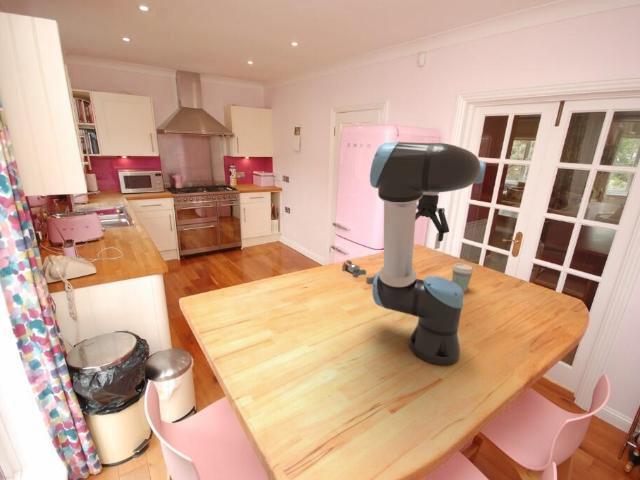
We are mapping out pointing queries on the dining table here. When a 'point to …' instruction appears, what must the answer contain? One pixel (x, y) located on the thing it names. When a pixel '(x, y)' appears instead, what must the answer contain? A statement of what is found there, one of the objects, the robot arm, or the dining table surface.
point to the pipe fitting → (356, 271)
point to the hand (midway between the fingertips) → (421, 244)
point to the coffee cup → (462, 275)
